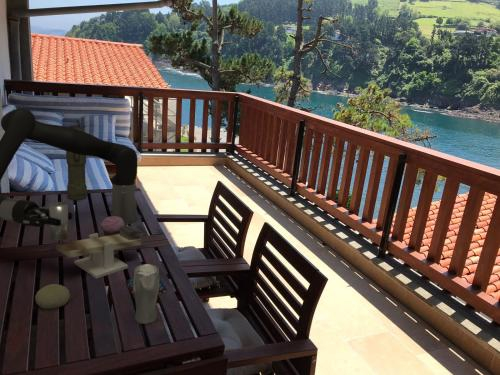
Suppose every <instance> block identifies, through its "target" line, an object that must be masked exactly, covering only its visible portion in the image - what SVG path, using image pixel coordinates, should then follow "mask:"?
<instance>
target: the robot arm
mask: <svg viewBox="0 0 500 375" xmlns="http://www.w3.org/2000/svg"><path fill="white" fill-rule="evenodd" d="M0 126H1V128H2V130H3V131H4V133H3V135H2V137H1V139H0V182H1V180H2V178H3V177H4V175H5V173H6V171H7V169H8V168H9V165H11V162H12V160H13V159H14V157H15V155H16V153H17V152H18V150H19V149H20V148H21V146H22V144H24V141H25V140H31V141H34V142H38V143H43V144H45V145H47V146H50V147H53V148H56V149H59V150H62V151H65V152H66V151H68V152H71V153H75V154H79V155H85V156H86V157H87V156H88V157H95V158H98V159H101V160H104V161H107V162H109V163H111V164H113V165H115V174H114V175H113V176H112V180H111V183H112V184H111V190H112V191H111V192H112V196H111V197H112V198H111V200H112V201H111V202H112V208H111V210H112V212H111V214H112V216H118V217H120V218H122V219H123V221H124V224H125V225H129V224H133V223H135V222H136V221H137V206H138V205H137V199H135V194H136V192H135V188H136V186H135V185H136V178H137V174H138V155H137V151H135V149H134V148H132V147H130V146H128V145H125V144H121V143H115V142H111V141H107V140H103V139H101V138H99V137H96V136H95V135H92V134H91V133H88V132H86V131H84V130H83V131H84V132H83V131H80V130H77V129H74V128H71V127H70V126H65V125H59V124H50V123H46V122H45V123H44V122H41V121H38V120H36V117H35V115H34V113H33V112H32V111H31V110H29V109H27V108H15V109H12V110H11V111H9V112H7V113H5V114H4V115H3V116H2V118H1V120H0ZM73 215H74V214H73V213H72V212H69V211H68V221H69V220H73ZM0 220H4V221H7V222H10V223H15V224H22V225H23V226H26V227H27V226H28V227H35V228H37V227H39V228H42V227H44V226H50V225H54V226H60V225H61V220H60V219H57V218H52V217H50V218H49V207H45V206H39V205H38V204H37V203H36V202H35V201H33V200H32V201H31V200H24V199H19V198H11V197H10V198H9V197H3V196H0Z"/></svg>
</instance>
